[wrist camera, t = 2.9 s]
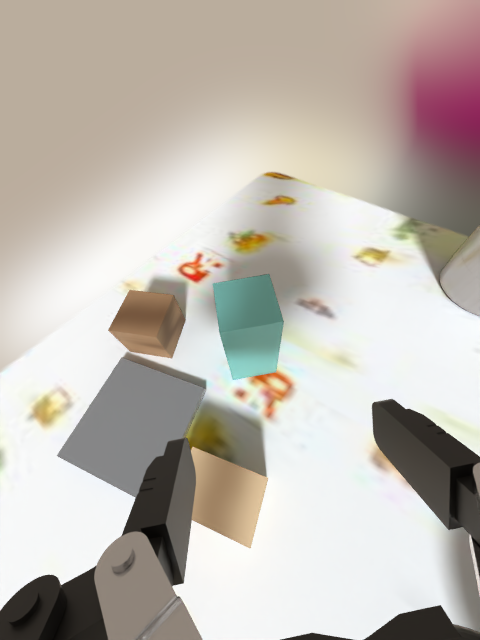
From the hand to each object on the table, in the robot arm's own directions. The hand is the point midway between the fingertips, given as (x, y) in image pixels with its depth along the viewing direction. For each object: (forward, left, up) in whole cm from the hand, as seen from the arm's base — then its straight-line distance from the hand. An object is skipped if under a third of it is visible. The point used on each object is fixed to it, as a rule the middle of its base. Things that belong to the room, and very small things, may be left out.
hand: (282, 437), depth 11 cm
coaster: (+2, -13, -13) cm, 18 cm away
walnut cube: (-7, -16, -13) cm, 22 cm away
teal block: (-8, -5, -13) cm, 16 cm away
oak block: (+4, -3, -13) cm, 14 cm away
